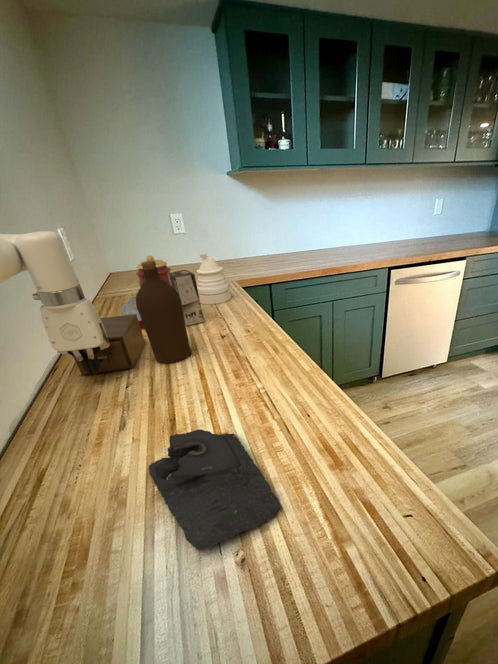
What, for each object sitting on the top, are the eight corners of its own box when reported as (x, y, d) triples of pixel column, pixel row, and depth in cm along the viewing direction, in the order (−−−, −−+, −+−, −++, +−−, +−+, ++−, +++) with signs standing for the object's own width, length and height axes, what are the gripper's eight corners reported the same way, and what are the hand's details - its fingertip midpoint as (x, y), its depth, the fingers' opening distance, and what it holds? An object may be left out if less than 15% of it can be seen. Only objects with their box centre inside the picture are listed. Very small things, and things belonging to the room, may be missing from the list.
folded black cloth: (180, 575, 40) (171, 552, 38) (147, 464, 57) (139, 443, 54) (290, 514, 47) (288, 490, 45) (232, 430, 63) (228, 410, 61)
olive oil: (171, 368, 86) (143, 269, 74) (144, 359, 91) (114, 265, 79) (201, 351, 94) (180, 259, 81) (175, 344, 99) (152, 256, 86)
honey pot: (215, 305, 128) (206, 257, 119) (192, 301, 134) (181, 254, 125) (237, 296, 138) (230, 250, 128) (215, 292, 144) (206, 248, 135)
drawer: (125, 375, 83) (115, 348, 79) (75, 382, 81) (63, 355, 77) (140, 343, 99) (133, 319, 95) (99, 348, 97) (90, 324, 94)
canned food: (157, 331, 121) (165, 307, 117) (143, 340, 112) (150, 314, 108) (128, 317, 120) (134, 292, 116) (110, 325, 111) (116, 298, 107)
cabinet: (133, 368, 88) (122, 336, 83) (81, 375, 86) (67, 343, 81) (145, 342, 102) (136, 313, 97) (100, 348, 100) (89, 319, 95)
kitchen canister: (173, 293, 146) (162, 251, 137) (181, 300, 136) (170, 255, 128) (142, 299, 141) (128, 255, 132) (147, 307, 131) (134, 260, 122)
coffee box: (205, 321, 114) (195, 273, 106) (186, 326, 111) (174, 277, 103) (196, 314, 121) (185, 268, 113) (178, 318, 118) (166, 272, 110)
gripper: (13, 306, 65) (53, 385, 75) (95, 297, 68) (124, 375, 77) (31, 295, 72) (66, 369, 81) (106, 287, 74) (131, 360, 83)
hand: (94, 372), depth 79 cm, fingers closed
